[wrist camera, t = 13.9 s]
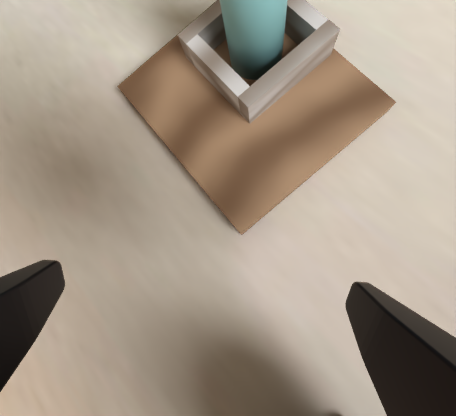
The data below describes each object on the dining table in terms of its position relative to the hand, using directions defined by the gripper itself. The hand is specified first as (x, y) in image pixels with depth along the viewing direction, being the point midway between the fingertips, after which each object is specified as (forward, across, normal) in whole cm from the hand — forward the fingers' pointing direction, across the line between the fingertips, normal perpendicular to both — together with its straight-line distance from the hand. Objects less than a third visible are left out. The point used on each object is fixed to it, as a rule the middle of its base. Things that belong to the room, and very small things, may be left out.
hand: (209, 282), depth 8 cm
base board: (+18, -2, -5) cm, 19 cm away
